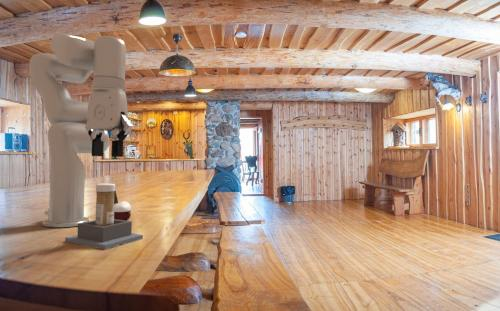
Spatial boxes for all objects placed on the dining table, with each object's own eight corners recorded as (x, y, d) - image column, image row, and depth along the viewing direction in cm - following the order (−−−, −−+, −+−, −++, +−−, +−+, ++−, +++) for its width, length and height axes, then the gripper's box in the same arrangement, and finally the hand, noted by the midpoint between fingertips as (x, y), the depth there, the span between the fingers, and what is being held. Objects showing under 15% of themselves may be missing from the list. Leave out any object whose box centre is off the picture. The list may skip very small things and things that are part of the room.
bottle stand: (65, 241, 83) (65, 223, 84) (104, 232, 94) (105, 216, 94) (105, 249, 77) (105, 230, 77) (142, 238, 88) (143, 221, 88)
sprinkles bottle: (115, 236, 85) (117, 184, 85) (96, 238, 83) (97, 184, 83) (111, 233, 89) (113, 182, 89) (93, 235, 87) (94, 183, 87)
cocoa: (133, 223, 109) (136, 187, 109) (113, 225, 105) (116, 187, 105) (124, 217, 117) (127, 183, 117) (105, 218, 113) (108, 183, 113)
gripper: (73, 86, 86) (71, 155, 86) (122, 81, 79) (120, 157, 79) (97, 91, 93) (95, 156, 93) (145, 87, 86) (143, 157, 86)
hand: (107, 155), depth 86 cm, fingers open, 6 cm apart
